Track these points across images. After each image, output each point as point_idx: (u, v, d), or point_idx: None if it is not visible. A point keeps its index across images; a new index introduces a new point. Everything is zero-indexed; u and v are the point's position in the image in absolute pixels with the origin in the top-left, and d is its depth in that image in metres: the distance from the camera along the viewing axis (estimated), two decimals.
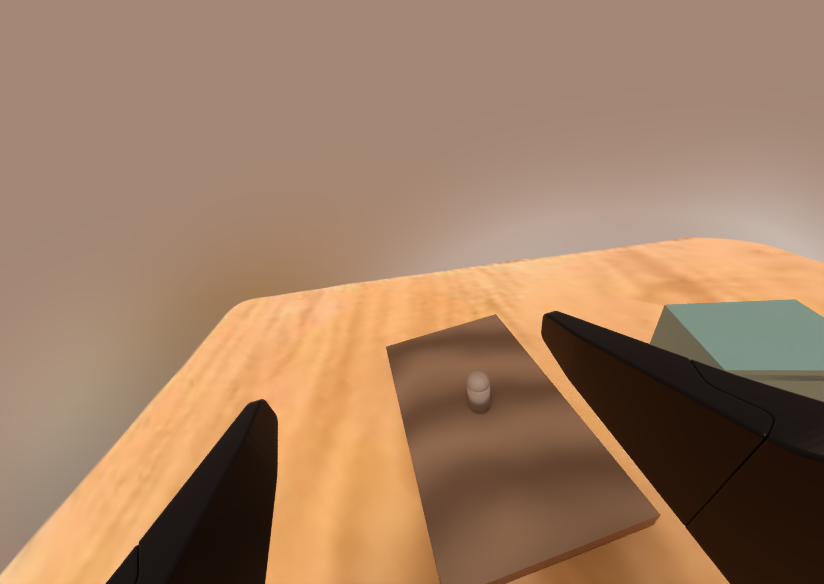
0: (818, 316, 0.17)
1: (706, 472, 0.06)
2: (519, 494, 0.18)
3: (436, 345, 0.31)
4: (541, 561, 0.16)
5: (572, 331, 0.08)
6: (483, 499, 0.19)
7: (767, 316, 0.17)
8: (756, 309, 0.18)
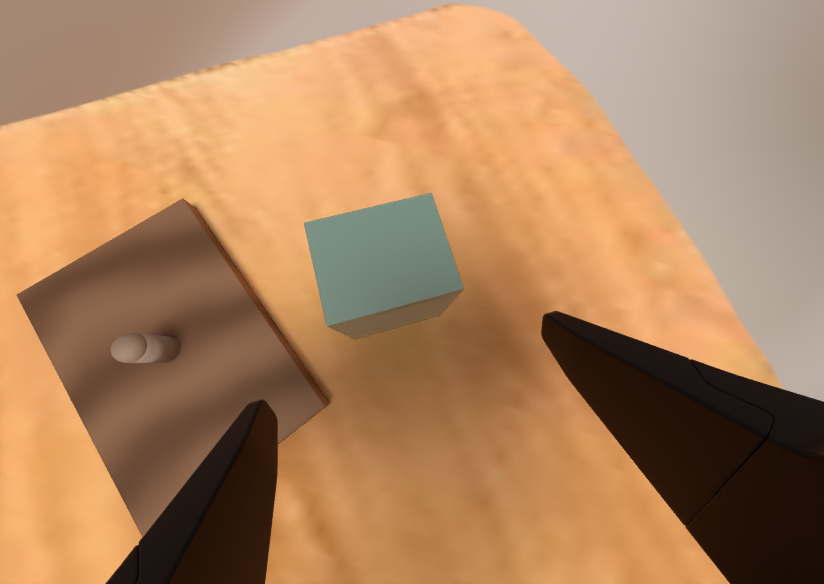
0: (437, 220, 0.15)
1: (706, 472, 0.06)
2: (211, 434, 0.19)
3: (100, 274, 0.21)
4: None
5: (572, 331, 0.08)
6: (177, 452, 0.19)
7: (395, 228, 0.15)
8: (391, 216, 0.15)
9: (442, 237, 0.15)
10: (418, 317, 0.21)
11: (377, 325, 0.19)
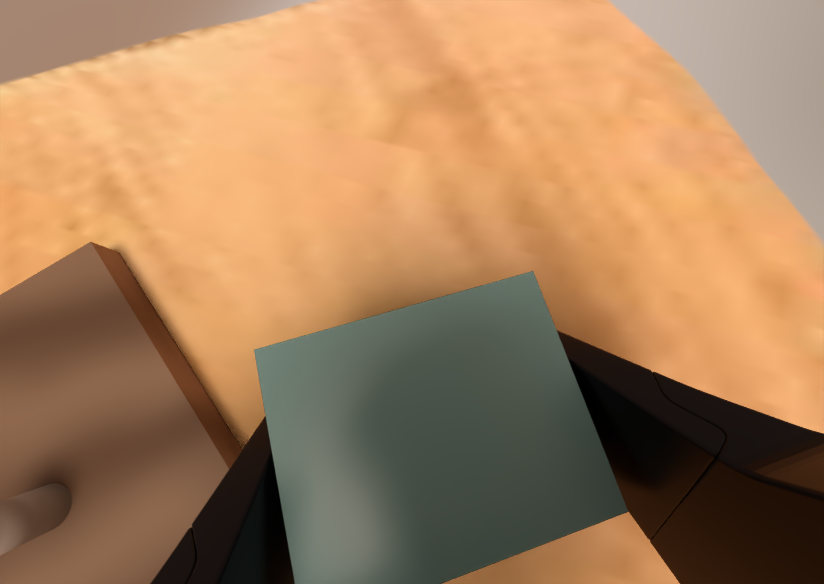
0: (552, 335, 0.07)
1: (666, 487, 0.06)
2: None
3: None
4: None
5: None
6: None
7: (461, 357, 0.07)
8: (449, 330, 0.07)
9: (566, 377, 0.07)
10: None
11: None
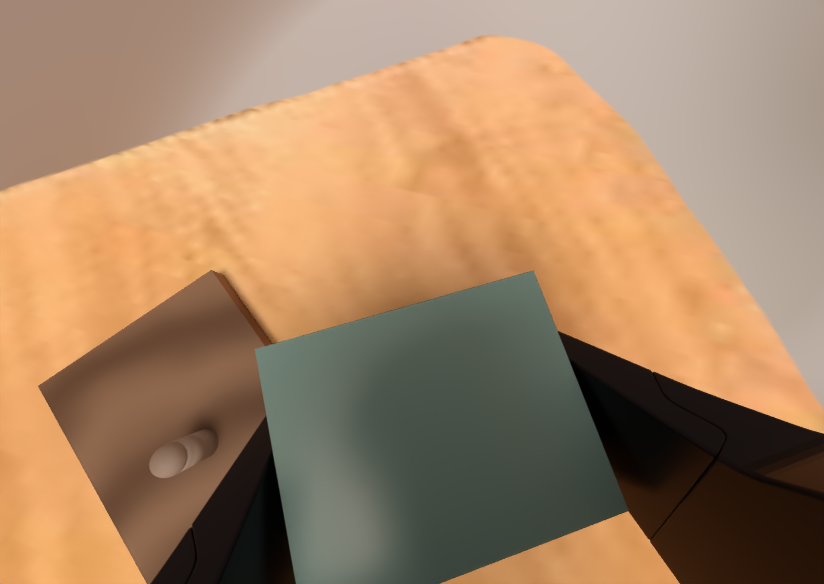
0: (552, 334, 0.07)
1: (667, 487, 0.06)
2: None
3: (126, 360, 0.20)
4: None
5: None
6: None
7: (462, 356, 0.07)
8: (449, 329, 0.07)
9: (566, 377, 0.07)
10: None
11: None
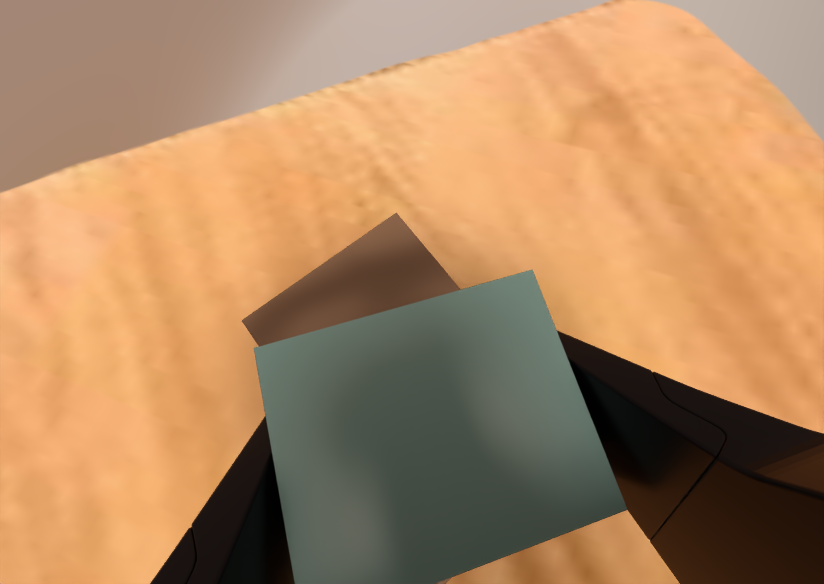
0: (551, 333, 0.07)
1: (666, 487, 0.06)
2: None
3: (325, 297, 0.20)
4: None
5: None
6: None
7: (461, 355, 0.07)
8: (448, 328, 0.07)
9: (565, 376, 0.07)
10: None
11: None
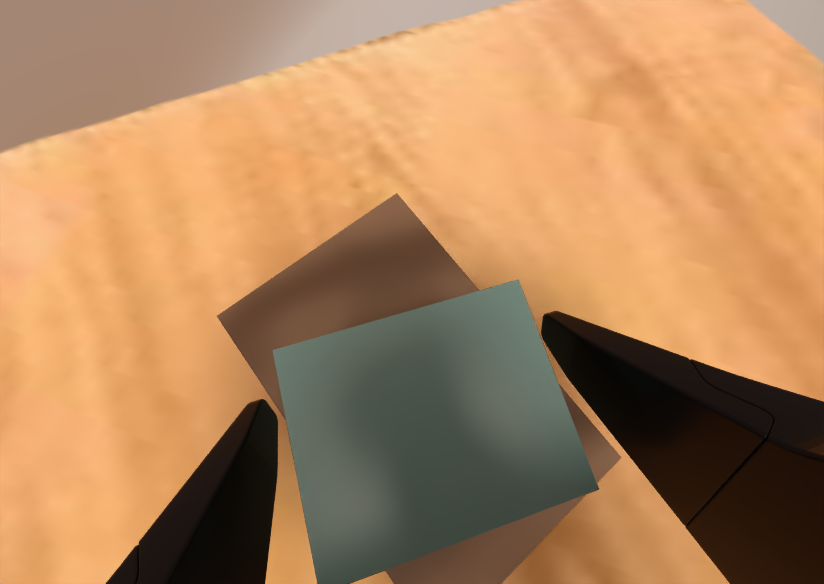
0: (534, 336, 0.08)
1: (706, 472, 0.06)
2: None
3: (314, 289, 0.17)
4: (523, 559, 0.15)
5: (572, 331, 0.08)
6: None
7: (454, 356, 0.08)
8: (443, 332, 0.08)
9: (546, 373, 0.08)
10: None
11: None
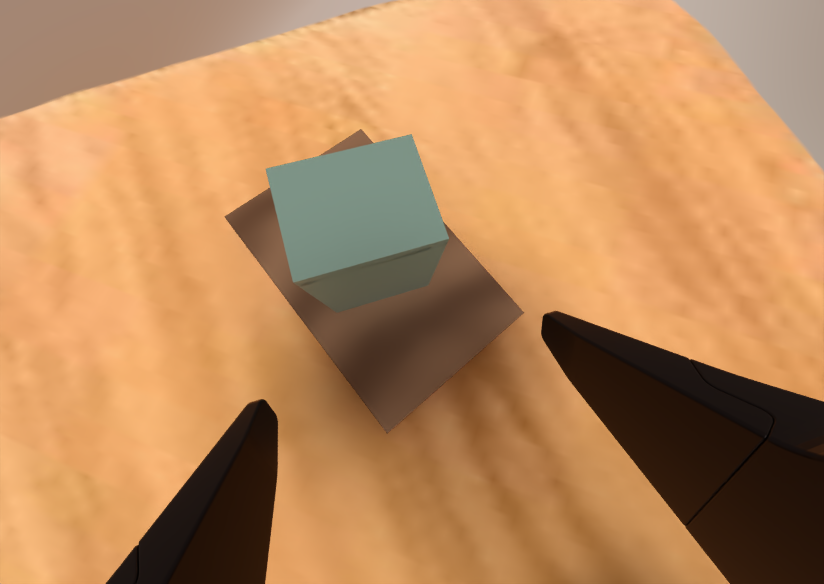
0: (418, 164, 0.14)
1: (707, 472, 0.06)
2: (426, 337, 0.21)
3: None
4: (449, 378, 0.20)
5: (572, 331, 0.08)
6: (399, 353, 0.21)
7: (371, 173, 0.13)
8: (365, 161, 0.14)
9: (424, 182, 0.13)
10: (404, 284, 0.19)
11: (357, 291, 0.17)
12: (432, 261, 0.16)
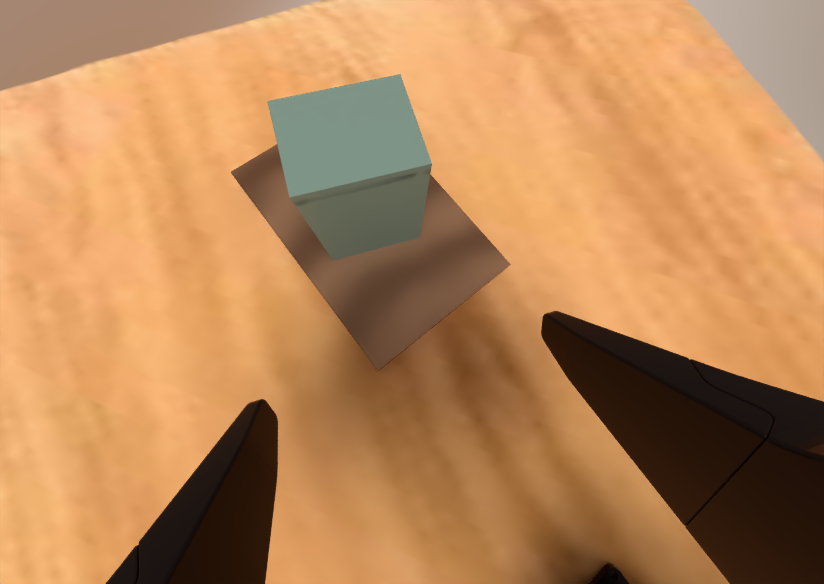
0: (406, 99, 0.15)
1: (706, 472, 0.06)
2: (417, 284, 0.22)
3: None
4: None
5: (572, 331, 0.08)
6: (390, 298, 0.22)
7: (362, 106, 0.15)
8: (357, 96, 0.15)
9: (410, 116, 0.15)
10: (395, 230, 0.20)
11: (351, 229, 0.18)
12: (419, 197, 0.17)
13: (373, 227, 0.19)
